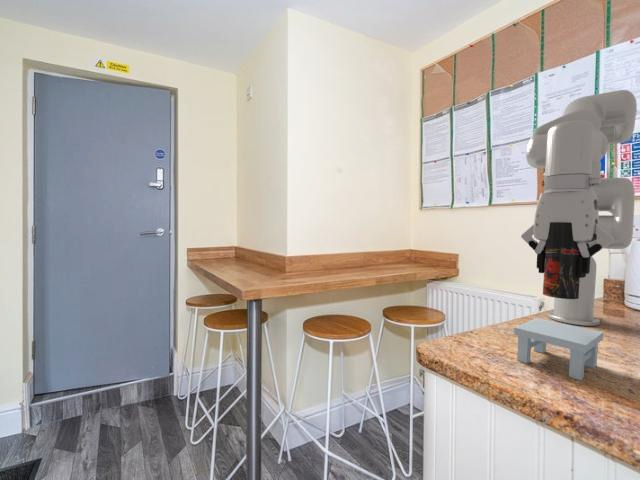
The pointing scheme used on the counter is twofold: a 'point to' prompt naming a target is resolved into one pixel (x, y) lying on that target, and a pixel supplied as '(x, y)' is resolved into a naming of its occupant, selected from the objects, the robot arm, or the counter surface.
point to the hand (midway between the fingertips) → (561, 273)
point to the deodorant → (561, 262)
